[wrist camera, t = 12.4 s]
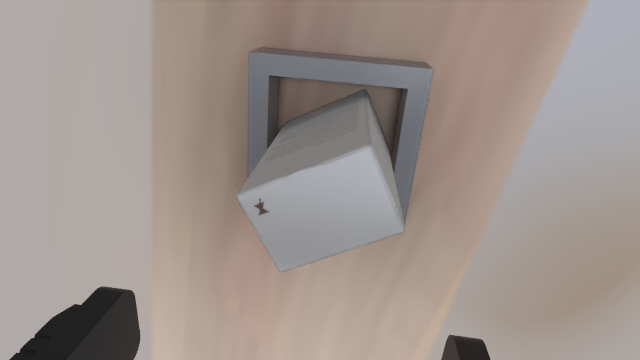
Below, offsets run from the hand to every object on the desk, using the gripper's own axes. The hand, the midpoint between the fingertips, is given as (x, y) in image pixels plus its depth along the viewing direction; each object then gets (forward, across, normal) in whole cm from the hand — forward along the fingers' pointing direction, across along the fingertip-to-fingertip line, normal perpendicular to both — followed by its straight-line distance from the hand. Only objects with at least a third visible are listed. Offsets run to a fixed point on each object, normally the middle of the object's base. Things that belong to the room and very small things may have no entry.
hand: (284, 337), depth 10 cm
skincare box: (+19, 0, 0) cm, 19 cm away
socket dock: (+18, 0, 0) cm, 19 cm away
